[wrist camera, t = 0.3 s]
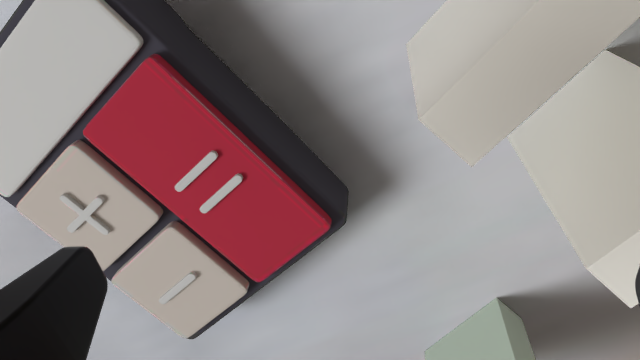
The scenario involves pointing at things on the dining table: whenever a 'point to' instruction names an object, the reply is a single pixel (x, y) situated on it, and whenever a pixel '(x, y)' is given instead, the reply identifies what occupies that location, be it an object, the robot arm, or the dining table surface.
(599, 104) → the domino
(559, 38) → the domino
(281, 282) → the dining table surface
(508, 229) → the dining table surface
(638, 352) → the dining table surface
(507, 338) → the domino
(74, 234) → the calculator
